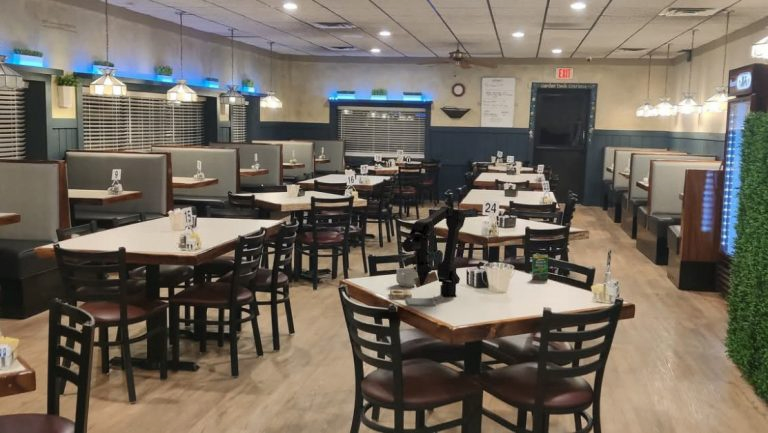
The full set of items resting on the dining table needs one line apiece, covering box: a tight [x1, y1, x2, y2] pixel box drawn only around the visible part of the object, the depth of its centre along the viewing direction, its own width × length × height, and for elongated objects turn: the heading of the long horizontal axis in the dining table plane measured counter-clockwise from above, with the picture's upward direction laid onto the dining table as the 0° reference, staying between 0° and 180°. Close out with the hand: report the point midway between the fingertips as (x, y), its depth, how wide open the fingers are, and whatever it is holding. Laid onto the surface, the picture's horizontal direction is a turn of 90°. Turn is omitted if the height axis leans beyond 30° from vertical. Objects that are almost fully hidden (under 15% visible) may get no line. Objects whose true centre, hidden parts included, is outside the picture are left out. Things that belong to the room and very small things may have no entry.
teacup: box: [395, 267, 418, 288], centre depth 366 cm, size 14×11×8 cm
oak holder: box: [389, 289, 413, 300], centre depth 344 cm, size 9×10×2 cm
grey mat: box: [405, 297, 437, 307], centre depth 332 cm, size 12×12×1 cm
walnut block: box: [414, 271, 439, 288], centre depth 331 cm, size 4×4×10 cm
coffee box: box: [531, 254, 549, 281], centre depth 388 cm, size 8×3×13 cm, turn 87°
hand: (421, 284), depth 331 cm, fingers closed on walnut block, 3 cm apart
